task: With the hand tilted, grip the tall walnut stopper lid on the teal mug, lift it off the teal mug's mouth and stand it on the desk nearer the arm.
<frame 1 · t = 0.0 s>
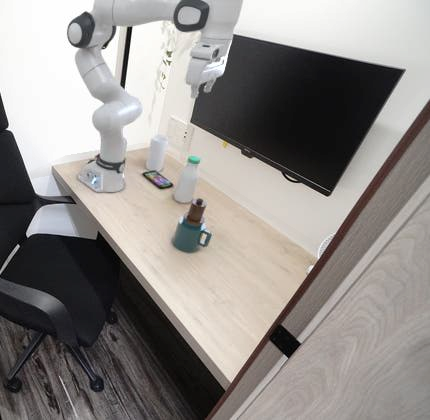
hand: (200, 94, 105), 48 cm above the table, tool pointing down, fingers open, 8 cm apart
cup: (153, 168, 165), on the table
smartphone: (157, 180, 154), on the table
milk bottle: (182, 199, 142), on the table
teal mug: (185, 244, 118), on the table
lid: (193, 219, 111), point 11 cm above the table, touching teal mug
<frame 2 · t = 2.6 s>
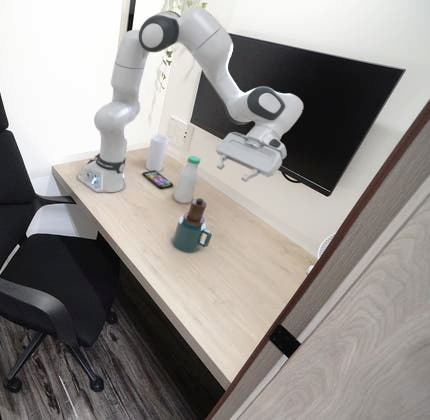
hand: (230, 174, 107), 26 cm above the table, tool tilted 45°, fingers open, 8 cm apart
nothing on the table moved.
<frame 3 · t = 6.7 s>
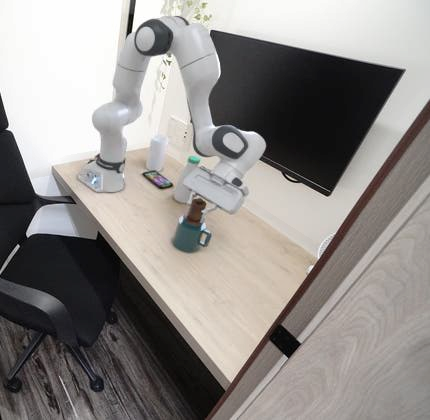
hand: (195, 209, 108), 16 cm above the table, tool tilted 45°, fingers closed on lid, 4 cm apart
lid: (193, 219, 111), point 12 cm above the table, touching gripper, teal mug
everything else where it was.
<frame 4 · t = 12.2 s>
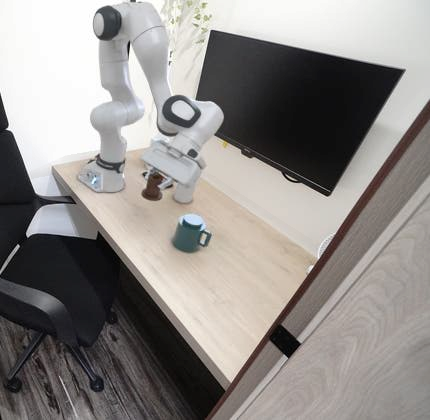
hand: (152, 184, 103), 25 cm above the table, tool tilted 45°, fingers closed on lid, 4 cm apart
lid: (151, 195, 106), point 21 cm above the table, touching gripper
everything else where it was.
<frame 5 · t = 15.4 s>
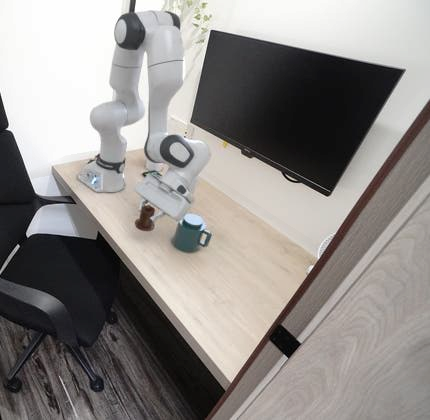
hand: (145, 216, 111), 12 cm above the table, tool tilted 45°, fingers closed on lid, 4 cm apart
lid: (144, 225, 113), point 8 cm above the table, touching gripper
everything else where it was.
when the fingers open (4 cm above the table, at t = 18.0 s): lid stays where it is, on the table.
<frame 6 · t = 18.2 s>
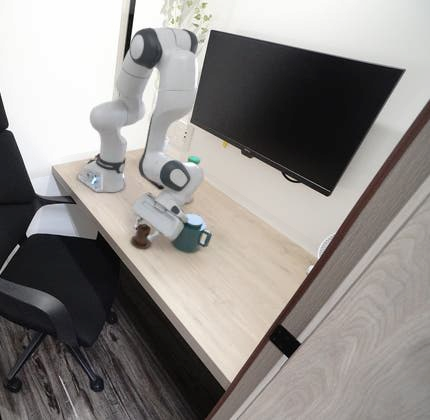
hand: (141, 234, 115), 4 cm above the table, tool tilted 45°, fingers open, 6 cm apart
lid: (140, 242, 118), on the table
everything else where it was.
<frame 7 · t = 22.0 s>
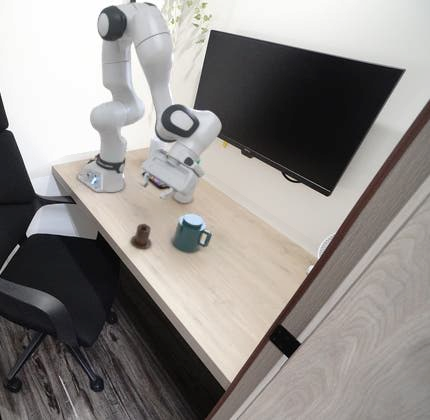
hand: (151, 192, 105), 22 cm above the table, tool tilted 45°, fingers open, 8 cm apart
nothing on the table moved.
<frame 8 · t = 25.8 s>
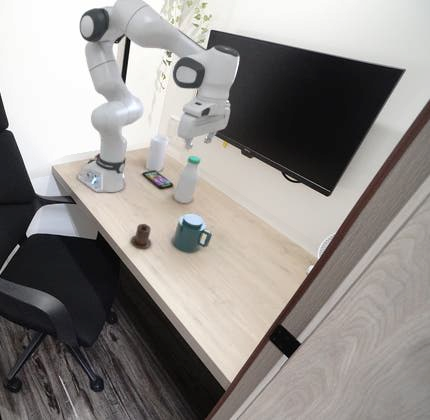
hand: (197, 145, 109), 33 cm above the table, tool pointing down, fingers open, 8 cm apart
nothing on the table moved.
at the end: lid inside the target area (0.3 cm from its centre), on the table; lid tilted 0°; the gripper is holding nothing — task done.
